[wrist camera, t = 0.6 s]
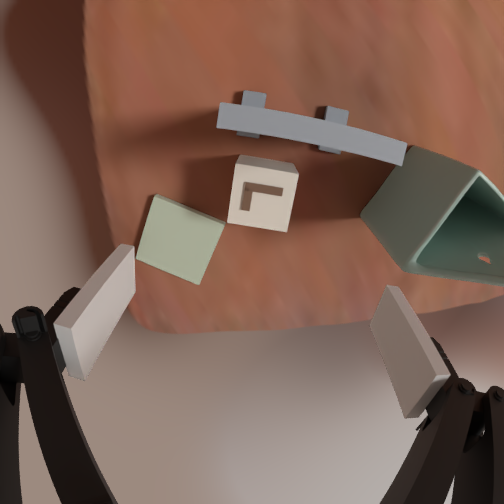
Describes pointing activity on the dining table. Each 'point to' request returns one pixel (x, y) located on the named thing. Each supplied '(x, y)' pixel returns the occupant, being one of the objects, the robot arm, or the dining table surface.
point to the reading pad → (179, 239)
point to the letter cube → (262, 193)
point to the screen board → (308, 129)
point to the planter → (440, 219)
